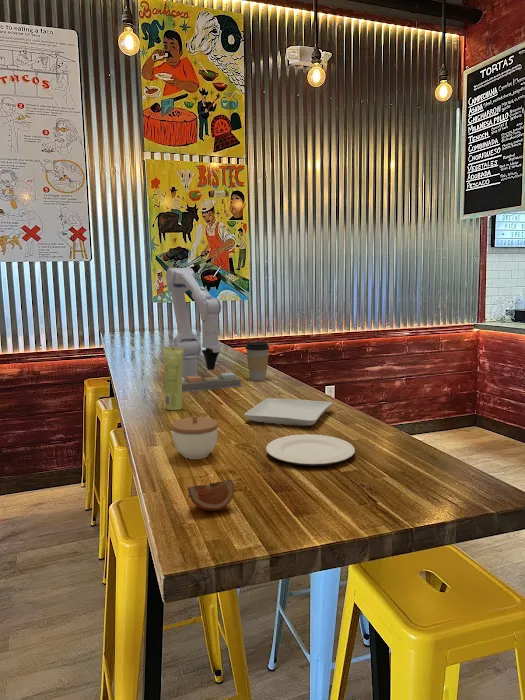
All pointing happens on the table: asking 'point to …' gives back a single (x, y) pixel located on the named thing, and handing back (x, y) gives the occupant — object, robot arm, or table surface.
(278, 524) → the table surface
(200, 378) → the key terracotta
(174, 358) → the tube
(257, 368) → the coffee cup
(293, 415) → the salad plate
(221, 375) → the key slate
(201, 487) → the fruit slice
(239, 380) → the grey flat slotted tray
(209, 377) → the key sage
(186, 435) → the lidded jar
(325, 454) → the plate
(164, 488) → the table surface
